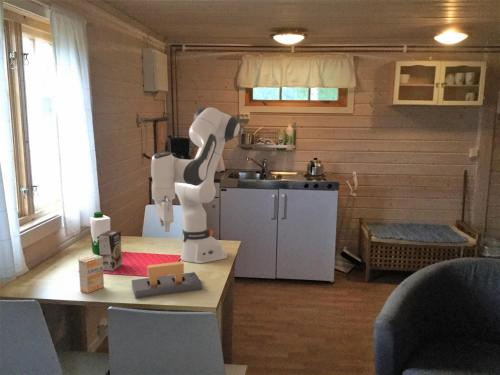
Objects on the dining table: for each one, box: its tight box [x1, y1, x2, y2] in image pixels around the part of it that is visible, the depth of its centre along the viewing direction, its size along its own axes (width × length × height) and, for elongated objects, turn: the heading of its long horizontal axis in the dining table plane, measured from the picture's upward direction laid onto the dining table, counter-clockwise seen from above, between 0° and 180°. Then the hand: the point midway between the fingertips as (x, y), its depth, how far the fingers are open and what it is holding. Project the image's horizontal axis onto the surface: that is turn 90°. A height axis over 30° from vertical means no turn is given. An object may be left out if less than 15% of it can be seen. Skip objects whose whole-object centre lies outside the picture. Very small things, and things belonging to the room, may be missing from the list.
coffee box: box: [99, 230, 123, 272], centre depth 208 cm, size 9×6×16 cm
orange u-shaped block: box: [146, 260, 185, 286], centre depth 185 cm, size 14×3×10 cm, turn 111°
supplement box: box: [78, 254, 105, 295], centre depth 183 cm, size 8×5×13 cm, turn 148°
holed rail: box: [131, 271, 203, 300], centre depth 185 cm, size 26×12×3 cm, turn 110°
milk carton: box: [89, 211, 111, 256], centre depth 228 cm, size 9×9×20 cm
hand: (164, 228), depth 181 cm, fingers open, 8 cm apart
